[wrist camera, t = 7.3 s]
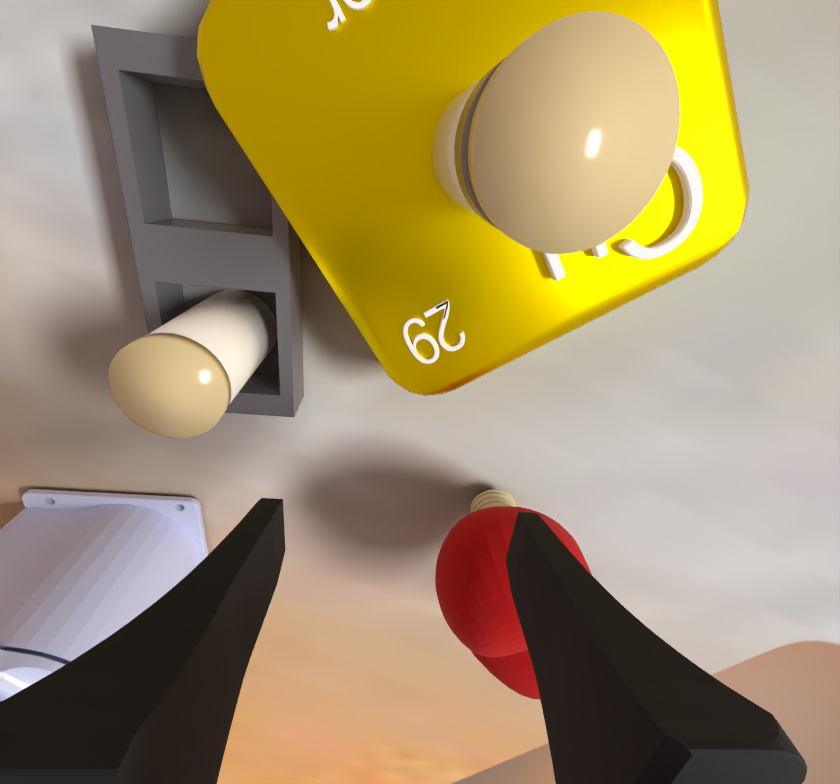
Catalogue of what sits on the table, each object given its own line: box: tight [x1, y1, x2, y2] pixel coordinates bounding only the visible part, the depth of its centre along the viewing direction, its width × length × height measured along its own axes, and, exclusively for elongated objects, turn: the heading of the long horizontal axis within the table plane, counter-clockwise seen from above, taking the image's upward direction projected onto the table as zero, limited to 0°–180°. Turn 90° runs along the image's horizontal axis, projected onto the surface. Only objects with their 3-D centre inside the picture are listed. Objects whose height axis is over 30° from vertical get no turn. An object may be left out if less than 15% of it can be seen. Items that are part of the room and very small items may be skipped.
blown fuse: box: [433, 11, 680, 254], centre depth 11 cm, size 4×4×7 cm
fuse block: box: [91, 25, 304, 417], centre depth 18 cm, size 6×14×2 cm, turn 174°
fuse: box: [108, 289, 277, 438], centre depth 17 cm, size 4×4×7 cm
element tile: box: [197, 0, 749, 396], centre depth 16 cm, size 15×15×5 cm
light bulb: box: [435, 489, 591, 699], centre depth 21 cm, size 9×7×10 cm
